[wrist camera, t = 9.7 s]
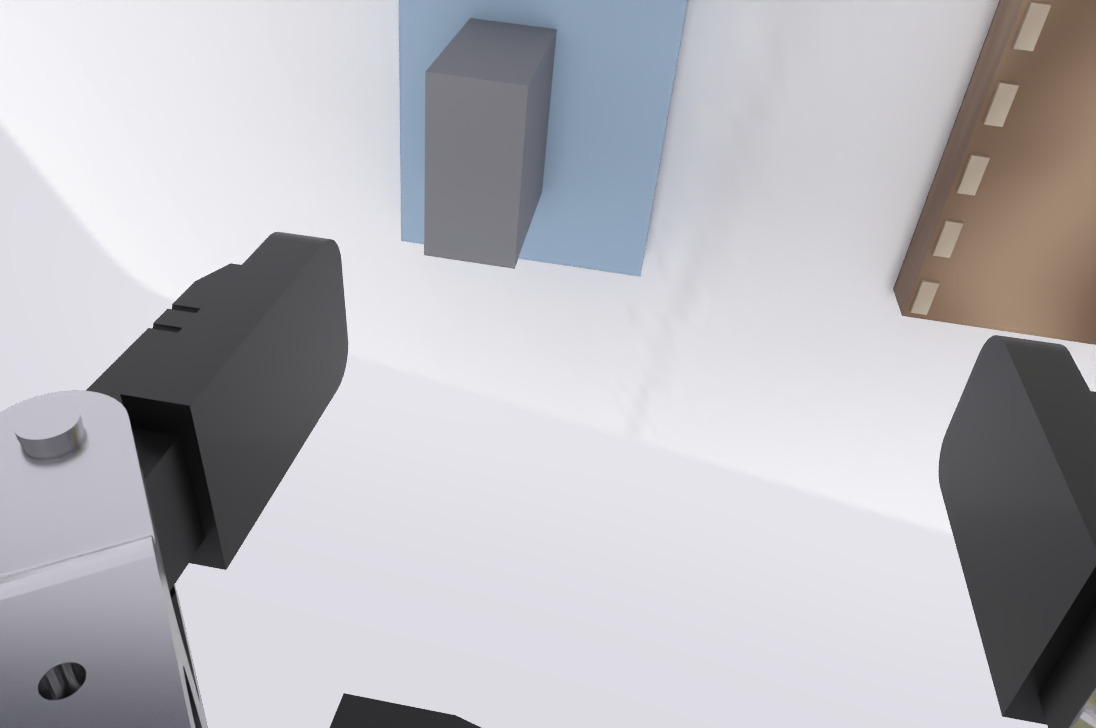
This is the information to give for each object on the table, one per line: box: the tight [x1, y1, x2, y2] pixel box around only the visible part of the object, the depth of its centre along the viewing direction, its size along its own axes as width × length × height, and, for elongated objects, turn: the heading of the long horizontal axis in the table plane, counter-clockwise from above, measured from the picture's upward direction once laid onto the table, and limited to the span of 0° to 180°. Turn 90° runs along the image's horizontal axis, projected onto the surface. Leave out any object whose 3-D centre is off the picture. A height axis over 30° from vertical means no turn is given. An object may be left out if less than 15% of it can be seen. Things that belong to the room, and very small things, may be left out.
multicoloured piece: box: [399, 0, 688, 276], centre depth 30 cm, size 10×12×8 cm
